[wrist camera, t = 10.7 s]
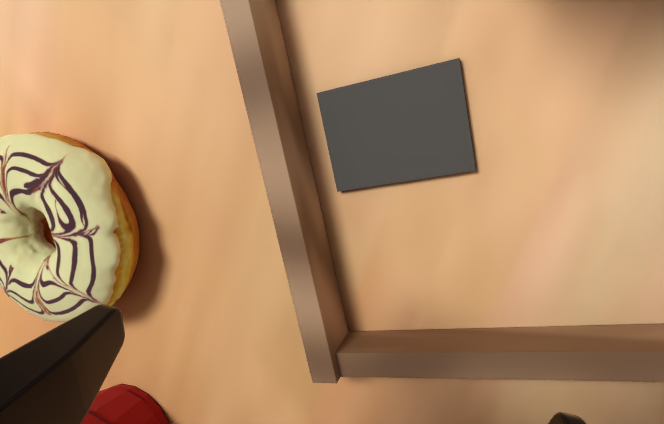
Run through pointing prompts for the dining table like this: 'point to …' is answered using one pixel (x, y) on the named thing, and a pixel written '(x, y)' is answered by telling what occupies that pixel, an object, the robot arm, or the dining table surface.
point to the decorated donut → (62, 227)
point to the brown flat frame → (385, 168)
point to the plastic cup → (124, 407)
